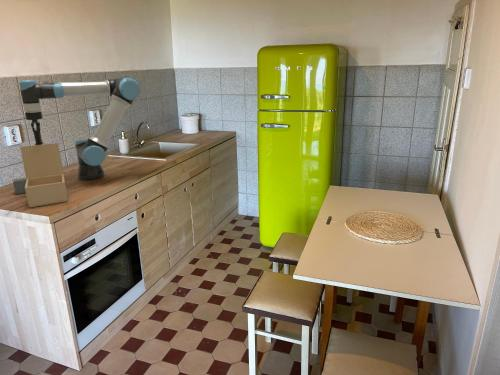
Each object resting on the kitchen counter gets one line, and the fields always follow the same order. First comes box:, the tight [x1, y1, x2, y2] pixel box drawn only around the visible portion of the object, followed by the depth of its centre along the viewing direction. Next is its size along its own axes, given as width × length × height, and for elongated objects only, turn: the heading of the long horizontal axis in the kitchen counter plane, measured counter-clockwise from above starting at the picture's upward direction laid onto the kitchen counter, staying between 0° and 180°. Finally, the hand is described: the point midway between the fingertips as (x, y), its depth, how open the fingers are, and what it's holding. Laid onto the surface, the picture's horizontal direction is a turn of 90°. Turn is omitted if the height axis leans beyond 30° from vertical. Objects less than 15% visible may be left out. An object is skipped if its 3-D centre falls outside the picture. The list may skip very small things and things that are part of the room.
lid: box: [19, 142, 65, 179], centre depth 195 cm, size 17×16×1 cm
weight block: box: [12, 177, 31, 195], centre depth 203 cm, size 8×5×7 cm, turn 117°
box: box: [25, 173, 69, 208], centre depth 189 cm, size 17×16×10 cm
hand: (41, 156), depth 199 cm, fingers closed
